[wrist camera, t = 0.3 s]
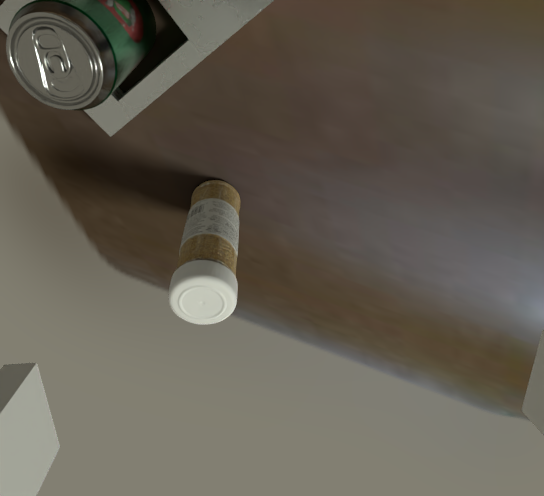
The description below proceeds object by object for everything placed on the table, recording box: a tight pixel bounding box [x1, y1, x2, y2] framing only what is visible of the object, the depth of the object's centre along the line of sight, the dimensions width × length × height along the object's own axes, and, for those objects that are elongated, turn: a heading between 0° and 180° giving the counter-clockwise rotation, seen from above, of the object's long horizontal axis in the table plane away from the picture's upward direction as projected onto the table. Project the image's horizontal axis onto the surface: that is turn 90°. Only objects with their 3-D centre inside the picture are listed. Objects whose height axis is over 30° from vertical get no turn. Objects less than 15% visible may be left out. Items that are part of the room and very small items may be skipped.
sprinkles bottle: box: [168, 180, 240, 324], centre depth 32 cm, size 5×5×13 cm
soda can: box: [6, 0, 156, 110], centre depth 24 cm, size 5×5×12 cm
